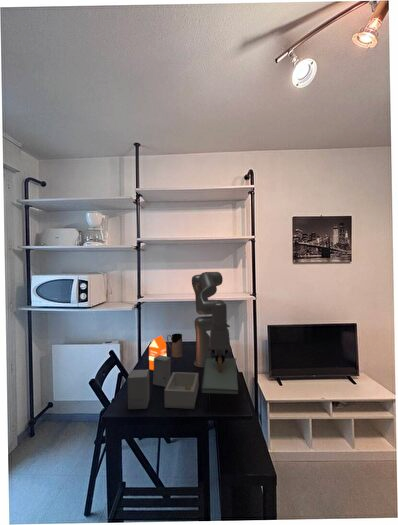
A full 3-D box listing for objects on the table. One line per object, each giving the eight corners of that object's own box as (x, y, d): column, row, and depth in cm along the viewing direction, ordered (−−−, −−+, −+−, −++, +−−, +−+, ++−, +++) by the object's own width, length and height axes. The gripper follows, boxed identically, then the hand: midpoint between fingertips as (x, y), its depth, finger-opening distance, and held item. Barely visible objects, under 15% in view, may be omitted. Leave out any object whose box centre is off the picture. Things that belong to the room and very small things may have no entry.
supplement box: (150, 398, 126) (149, 368, 127) (147, 409, 118) (146, 377, 118) (132, 399, 126) (131, 369, 126) (127, 409, 117) (127, 377, 117)
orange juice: (149, 369, 162) (148, 338, 162) (157, 364, 170) (156, 334, 170) (159, 371, 158) (158, 339, 158) (166, 366, 166) (166, 335, 166)
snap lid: (205, 361, 137) (204, 349, 135) (235, 361, 135) (235, 350, 133) (201, 392, 115) (201, 379, 113) (238, 394, 114) (237, 380, 112)
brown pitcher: (177, 358, 179) (177, 337, 179) (163, 354, 188) (163, 334, 188) (185, 354, 186) (185, 334, 186) (171, 350, 195) (171, 331, 195)
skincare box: (152, 384, 141) (152, 358, 141) (158, 380, 147) (158, 354, 147) (165, 387, 138) (165, 360, 138) (171, 382, 143) (170, 356, 143)
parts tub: (173, 386, 138) (173, 372, 138) (198, 387, 137) (198, 372, 137) (164, 407, 119) (164, 390, 119) (194, 408, 117) (193, 391, 117)
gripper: (234, 325, 132) (235, 360, 132) (204, 324, 133) (205, 359, 133) (235, 328, 124) (236, 366, 124) (203, 328, 126) (204, 365, 126)
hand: (220, 362), depth 129 cm, fingers closed on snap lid
